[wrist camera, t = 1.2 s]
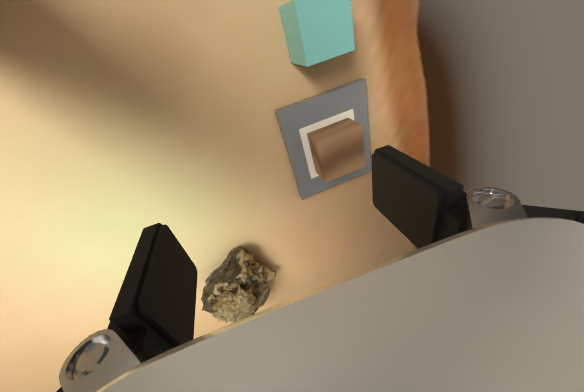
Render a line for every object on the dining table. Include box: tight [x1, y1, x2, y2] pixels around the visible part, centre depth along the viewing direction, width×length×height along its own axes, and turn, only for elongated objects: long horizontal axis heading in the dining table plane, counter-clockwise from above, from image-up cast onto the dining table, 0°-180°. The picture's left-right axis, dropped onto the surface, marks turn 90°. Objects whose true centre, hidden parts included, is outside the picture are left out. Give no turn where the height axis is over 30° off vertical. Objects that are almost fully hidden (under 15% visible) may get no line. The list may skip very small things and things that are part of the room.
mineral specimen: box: [201, 247, 276, 323], centre depth 45 cm, size 14×13×10 cm
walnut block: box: [307, 118, 366, 183], centre depth 37 cm, size 7×7×4 cm
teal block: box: [279, 0, 355, 67], centre depth 28 cm, size 6×6×6 cm
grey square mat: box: [275, 79, 372, 200], centre depth 39 cm, size 16×14×1 cm
